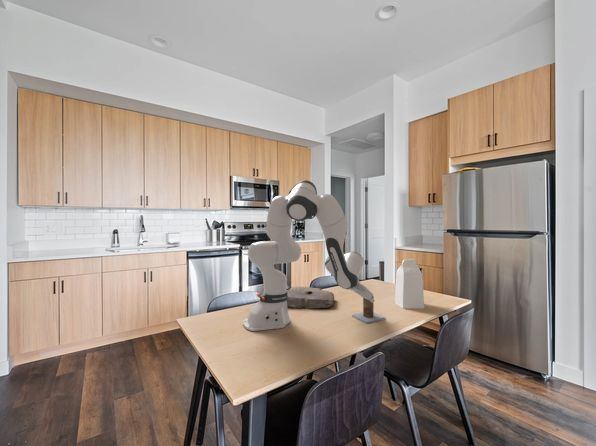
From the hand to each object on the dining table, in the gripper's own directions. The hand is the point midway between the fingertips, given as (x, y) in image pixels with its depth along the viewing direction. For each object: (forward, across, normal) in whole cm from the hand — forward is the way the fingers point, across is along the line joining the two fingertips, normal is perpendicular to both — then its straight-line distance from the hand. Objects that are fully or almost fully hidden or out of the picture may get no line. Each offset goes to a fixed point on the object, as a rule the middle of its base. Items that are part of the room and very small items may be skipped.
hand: (368, 298), depth 137 cm
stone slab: (-8, +34, +23) cm, 42 cm away
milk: (+29, +12, -16) cm, 35 cm away
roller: (+6, 0, +6) cm, 8 cm away
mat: (+6, -1, +7) cm, 9 cm away
